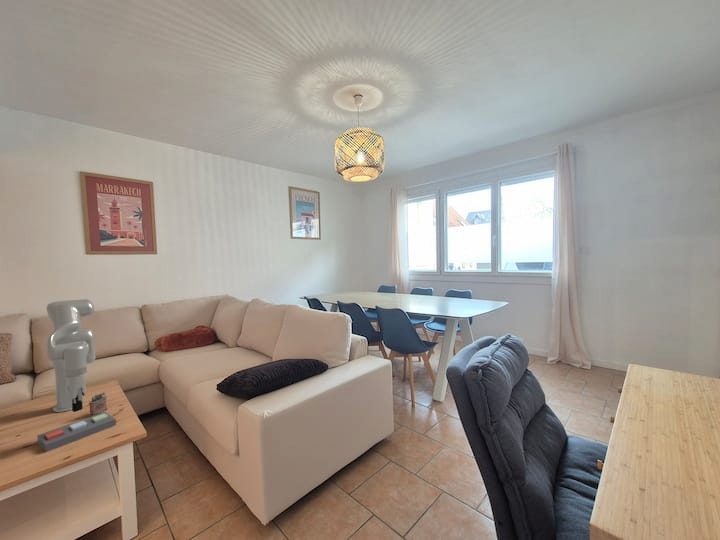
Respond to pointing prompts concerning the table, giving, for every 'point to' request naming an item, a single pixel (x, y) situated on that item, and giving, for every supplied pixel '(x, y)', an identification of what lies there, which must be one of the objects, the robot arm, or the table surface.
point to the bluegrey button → (77, 425)
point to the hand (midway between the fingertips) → (77, 410)
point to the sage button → (99, 418)
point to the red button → (54, 434)
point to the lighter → (98, 404)
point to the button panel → (75, 432)
